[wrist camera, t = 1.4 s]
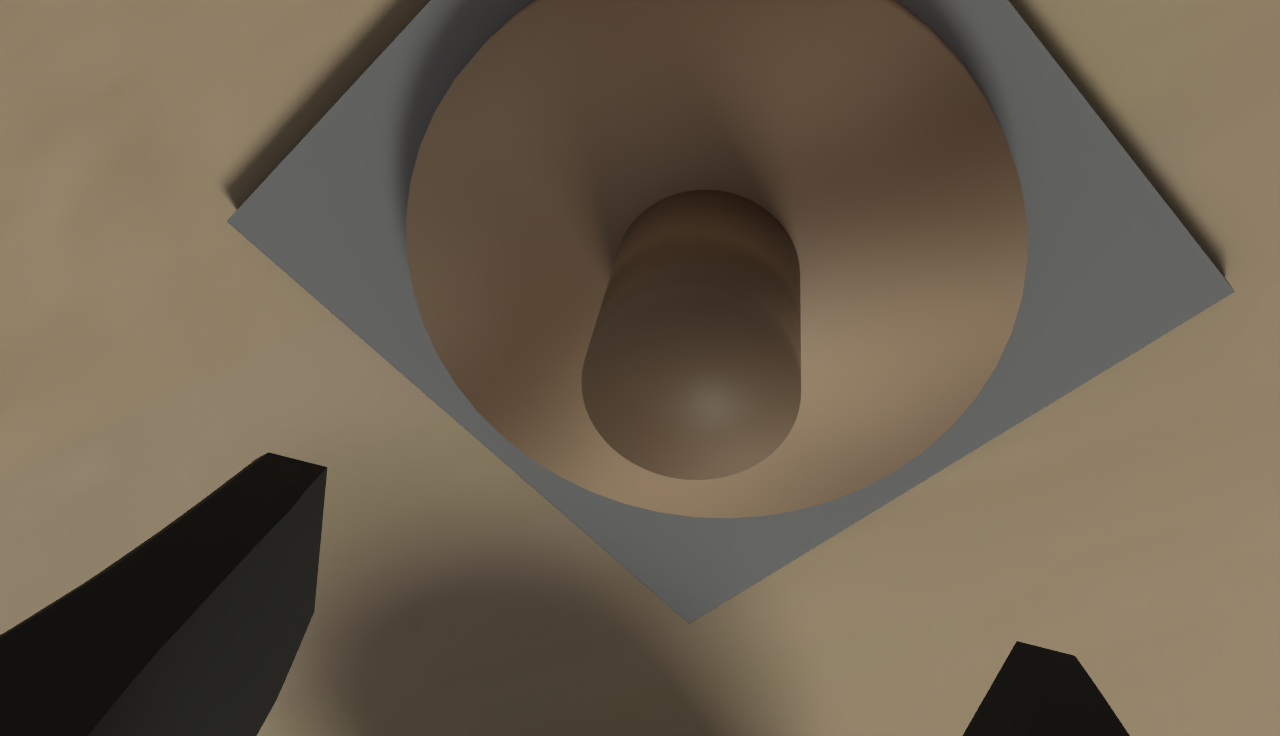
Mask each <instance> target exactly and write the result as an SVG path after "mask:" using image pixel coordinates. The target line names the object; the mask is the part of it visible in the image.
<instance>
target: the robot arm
mask: <svg viewBox="0 0 1280 736" xmlns="http://www.w3.org/2000/svg"><path fill="white" fill-rule="evenodd" d="M326 475H327V467H324V466H320V465H316V464H312V463H308V462H304V461H300V460H296V459H292V458H288V457H284V456H280V455H277V454H273V453H267V454H265V455H263V456H261V457H259V458H257V459H256V460H255V461H253V462H252V463H251V464H249V465H248V466H247V467H245V468H244V469H243V470H241V471H240V472H239V473H238V474H236V475H235V476H234V477H232V478H231V479H230V480H228V481H227V482H226V483H224V484H223V485H222V486H220V487H219V488H218V489H217V490H215V491H214V492H213V493H211V494H210V495H209V496H207V497H206V498H205V499H203V500H202V501H201V502H199V503H198V504H197V505H195V506H194V507H192V508H191V509H190V510H188V511H187V512H186V513H184V514H183V515H182V516H180V517H179V518H177V519H176V520H175V521H173V522H172V523H171V524H169V525H168V526H166V527H165V528H164V529H162V530H161V531H160V532H158V533H157V534H155V535H154V536H152V537H151V538H149V539H148V540H147V541H145V542H144V543H142V544H141V545H139V546H138V547H136V548H135V549H134V550H132V551H131V552H129V553H128V554H126V555H125V556H123V557H122V558H121V559H119V560H118V561H116V562H115V563H113V564H112V565H110V566H109V567H108V568H106V569H105V570H103V571H102V572H100V573H99V574H97V575H96V576H94V577H93V578H91V579H90V580H88V581H87V582H85V583H84V584H82V585H81V586H79V587H77V588H76V589H74V590H73V591H71V592H69V593H68V594H66V595H64V596H63V597H61V598H60V599H58V600H56V601H55V602H53V603H52V604H50V605H48V606H47V607H45V608H44V609H42V610H40V611H39V612H37V613H36V614H34V615H32V616H31V617H29V618H28V619H26V620H24V621H23V622H21V623H20V624H18V625H16V626H15V627H13V628H12V629H10V630H8V631H7V632H5V633H3V634H1V635H0V736H256V735H257V734H258V732H259V730H260V728H261V727H262V725H263V723H264V721H265V719H266V718H267V716H268V714H269V712H270V710H271V709H272V707H273V705H274V703H275V701H276V700H277V697H278V695H279V693H280V690H281V688H282V686H283V684H284V681H285V679H286V677H287V674H288V672H289V670H290V668H291V665H292V663H293V661H294V658H295V656H296V653H297V651H298V649H299V646H300V644H301V641H302V639H303V637H304V634H305V632H306V629H307V627H308V625H309V622H310V620H311V617H312V615H313V613H314V607H315V596H316V585H317V574H318V563H319V552H320V541H321V530H322V519H323V508H324V497H325V486H326ZM963 736H1129V734H1128V733H1127V731H1126V730H1125V728H1124V727H1123V725H1122V724H1121V722H1120V721H1119V719H1118V718H1117V716H1116V715H1115V713H1114V712H1113V710H1112V709H1111V707H1110V706H1109V704H1108V703H1107V701H1106V700H1105V698H1104V697H1103V695H1102V694H1101V692H1100V691H1099V689H1098V688H1097V687H1096V685H1095V684H1094V682H1093V681H1092V679H1091V678H1090V676H1089V675H1088V674H1087V672H1086V671H1085V669H1084V668H1083V667H1082V665H1081V664H1080V662H1079V661H1078V660H1077V658H1076V657H1075V656H1073V655H1069V654H1065V653H1061V652H1058V651H1054V650H1050V649H1046V648H1042V647H1038V646H1034V645H1030V644H1026V643H1022V642H1018V641H1017V642H1016V644H1015V645H1014V647H1013V649H1012V650H1011V652H1010V654H1009V656H1008V657H1007V659H1006V661H1005V663H1004V664H1003V666H1002V668H1001V670H1000V671H999V673H998V675H997V677H996V678H995V680H994V682H993V684H992V685H991V687H990V689H989V691H988V692H987V694H986V696H985V698H984V699H983V701H982V703H981V705H980V706H979V708H978V710H977V712H976V713H975V715H974V717H973V719H972V720H971V722H970V724H969V726H968V727H967V729H966V731H965V732H964V734H963Z"/></svg>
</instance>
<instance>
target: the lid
mask: <svg viewBox="0 0 1280 736" xmlns="http://www.w3.org/2000/svg"><path fill="white" fill-rule="evenodd" d="M406 239H407V259H408V265H409V270H410V276H411V282H412V288H413V292H414V296H415V299H416V302H417V305H418V308H419V312H420V315H421V318H422V321H423V324H424V327H425V329H426V331H427V333H428V335H429V337H430V340H431V342H432V344H433V346H434V348H435V350H436V353H437V355H438V357H439V358H440V360H441V361H442V363H443V365H444V366H445V368H446V369H447V371H448V373H449V374H450V376H451V377H452V379H453V381H454V382H455V384H456V385H457V387H458V388H459V389H460V390H461V392H462V393H463V394H464V395H465V397H466V398H467V399H468V400H469V402H470V403H471V404H472V405H473V407H474V408H475V409H476V410H477V412H478V413H479V414H480V415H481V416H482V417H483V418H484V419H485V420H486V421H487V422H488V423H489V424H490V425H491V426H493V427H494V428H495V429H496V430H497V431H498V432H499V433H500V434H501V435H502V436H503V437H504V438H505V439H506V440H508V441H509V442H510V443H512V444H513V445H514V446H515V447H517V448H518V449H519V450H520V451H522V452H523V453H524V454H526V455H527V456H528V457H529V458H531V459H532V460H534V461H536V462H537V463H539V464H540V465H542V466H544V467H545V468H547V469H548V470H550V471H552V472H553V473H555V474H557V475H558V476H560V477H562V478H564V479H566V480H568V481H570V482H572V483H574V484H576V485H578V486H580V487H582V488H585V489H587V490H589V491H591V492H593V493H596V494H599V495H602V496H604V497H607V498H610V499H613V500H616V501H618V502H621V503H624V504H627V505H632V506H636V507H640V508H644V509H648V510H652V511H656V512H661V513H668V514H675V515H682V516H690V517H705V518H742V517H757V516H768V515H773V514H779V513H785V512H791V511H796V510H801V509H805V508H808V507H812V506H815V505H819V504H822V503H825V502H829V501H832V500H835V499H838V498H840V497H843V496H845V495H847V494H850V493H852V492H855V491H857V490H860V489H862V488H865V487H867V486H869V485H871V484H872V483H874V482H876V481H878V480H880V479H881V478H883V477H885V476H887V475H889V474H891V473H892V472H894V471H896V470H898V469H899V468H901V467H902V466H903V465H905V464H906V463H908V462H909V461H911V460H912V459H913V458H915V457H916V456H918V455H919V454H920V453H922V452H923V451H925V450H926V449H927V448H928V447H929V446H931V445H932V444H933V443H934V442H935V441H936V440H937V439H938V438H939V437H940V436H941V435H943V434H944V433H945V432H946V431H947V430H948V429H949V428H950V427H951V426H952V425H953V424H954V423H955V422H956V421H957V420H958V418H959V417H960V416H961V415H962V414H963V413H964V411H965V410H966V409H967V408H968V407H969V405H970V404H971V403H972V402H973V401H974V400H975V398H976V397H977V396H978V394H979V393H980V391H981V389H982V388H983V386H984V385H985V383H986V382H987V380H988V378H989V377H990V375H991V374H992V372H993V371H994V369H995V368H996V366H997V364H998V361H999V359H1000V357H1001V355H1002V353H1003V351H1004V348H1005V346H1006V344H1007V342H1008V340H1009V338H1010V335H1011V333H1012V330H1013V326H1014V323H1015V320H1016V316H1017V313H1018V310H1019V306H1020V303H1021V299H1022V295H1023V288H1024V281H1025V274H1026V267H1027V218H1026V212H1025V206H1024V199H1023V193H1022V187H1021V182H1020V179H1019V176H1018V173H1017V169H1016V166H1015V163H1014V160H1013V157H1012V154H1011V151H1010V148H1009V145H1008V142H1007V140H1006V138H1005V136H1004V134H1003V131H1002V129H1001V127H1000V125H999V123H998V121H997V119H996V117H995V115H994V113H993V111H992V109H991V107H990V105H989V103H988V101H987V99H986V97H985V95H984V93H983V91H982V89H981V88H980V87H979V85H978V84H977V82H976V81H975V79H974V78H973V77H972V75H971V74H970V72H969V71H968V69H967V68H966V67H965V65H964V64H963V62H962V61H961V59H960V58H959V57H958V56H957V54H956V53H955V52H954V51H953V50H952V49H951V48H950V47H949V46H948V45H947V44H946V43H945V42H944V41H943V40H942V39H941V38H940V37H939V35H938V34H937V33H936V32H935V31H934V30H933V29H932V28H931V27H930V26H929V25H928V24H926V23H925V22H924V21H923V20H921V19H920V18H919V17H918V16H916V15H915V14H914V13H912V12H911V11H910V10H909V9H907V8H906V7H905V6H904V5H902V4H901V3H900V2H899V1H897V0H533V1H531V2H530V3H528V4H527V5H525V6H524V7H522V8H521V9H520V10H519V11H518V12H517V13H516V14H515V15H513V16H512V17H511V18H510V19H509V20H508V21H507V22H506V23H504V24H503V25H502V26H501V27H500V28H499V29H498V30H497V31H495V32H494V33H493V34H492V36H491V37H490V38H489V39H488V40H487V41H486V43H485V44H484V45H483V46H482V47H481V49H480V50H479V51H478V52H477V53H476V55H475V56H474V57H473V58H472V59H471V60H470V62H469V63H468V64H467V65H466V66H465V68H464V69H463V70H462V71H461V72H460V74H459V75H458V76H457V77H456V78H455V80H454V81H453V83H452V85H451V86H450V88H449V90H448V91H447V93H446V94H445V96H444V98H443V99H442V101H441V103H440V104H439V106H438V107H437V109H436V111H435V112H434V115H433V117H432V119H431V122H430V124H429V126H428V129H427V131H426V133H425V136H424V138H423V140H422V143H421V145H420V148H419V151H418V155H417V159H416V163H415V166H414V170H413V174H412V178H411V182H410V188H409V197H408V206H407V215H406Z"/></svg>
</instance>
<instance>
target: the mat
mask: <svg viewBox="0 0 1280 736" xmlns="http://www.w3.org/2000/svg"><path fill="white" fill-rule="evenodd" d="M531 1H533V0H430V1H429V3H428V4H427V5H426V6H425V7H424V8H423V9H422V10H421V11H420V12H419V13H418V14H417V16H416V17H415V18H414V19H413V20H412V21H411V22H410V23H409V24H408V25H407V26H406V27H405V29H404V30H403V31H402V32H401V33H400V34H399V35H398V36H397V37H396V38H395V39H394V41H393V42H392V43H391V44H390V45H389V46H388V47H387V48H386V49H385V50H384V51H383V52H382V54H381V55H380V56H379V57H378V58H377V59H376V60H375V61H374V62H373V63H372V64H371V65H370V67H369V68H368V69H367V70H366V71H365V72H364V73H363V74H362V75H361V76H360V77H359V78H358V80H357V81H356V82H355V83H354V84H353V85H352V86H351V87H350V88H349V89H348V90H347V91H346V93H345V94H344V95H343V96H342V97H341V98H340V99H339V100H338V101H337V102H336V103H335V104H334V106H333V107H332V108H331V109H330V110H329V111H328V112H327V113H326V114H325V115H324V116H323V117H322V119H321V120H320V121H319V122H318V123H317V124H316V125H315V126H314V127H313V128H312V129H311V130H310V132H309V133H308V134H307V135H306V136H305V137H304V138H303V139H302V140H301V141H300V142H299V143H298V145H297V146H296V147H295V148H294V149H293V150H292V151H291V152H290V153H289V154H288V155H287V156H286V158H285V159H284V160H283V161H282V162H281V163H280V164H279V165H278V166H277V167H276V168H275V169H274V171H273V172H272V173H271V174H270V175H269V176H268V177H267V178H266V179H265V180H264V181H263V182H262V184H261V185H260V186H259V187H258V188H257V189H256V190H255V191H254V192H253V193H252V194H251V195H250V197H249V198H248V199H247V200H246V201H245V202H244V203H243V204H242V205H241V206H240V207H239V208H238V210H237V211H236V212H235V213H234V214H233V215H232V216H231V217H230V218H229V219H228V220H227V222H228V223H229V224H230V225H231V226H233V227H234V228H235V229H236V230H237V231H238V232H239V233H241V234H242V235H243V236H244V237H245V238H246V239H248V240H249V241H250V242H251V243H252V244H253V245H254V246H256V247H257V248H258V249H259V250H260V251H261V252H262V253H264V254H265V255H266V256H267V257H268V258H269V259H270V260H272V261H273V262H274V263H275V264H276V265H277V266H279V267H280V268H281V269H282V270H283V271H284V272H285V273H287V274H288V275H289V276H290V277H291V278H292V279H293V280H295V281H296V282H297V283H298V284H299V285H300V286H302V287H303V288H304V289H305V290H306V291H307V292H308V293H310V294H311V295H312V296H313V297H314V298H315V299H316V300H318V301H319V302H320V303H321V304H322V305H323V306H325V307H326V308H327V309H328V310H329V311H330V312H331V313H333V314H334V315H335V316H336V317H337V318H338V319H339V320H341V321H342V322H343V323H344V324H345V325H346V326H348V327H349V328H350V329H351V330H352V331H353V332H354V333H356V334H357V335H358V336H359V337H360V338H361V339H362V340H364V341H365V342H366V343H367V344H368V345H369V346H370V347H372V348H373V349H374V350H375V351H376V352H377V353H379V354H380V355H381V356H382V357H383V358H384V359H385V360H387V361H388V362H389V363H390V364H391V365H392V366H393V367H395V368H396V369H397V370H398V371H399V372H400V373H402V374H403V375H404V376H405V377H406V378H407V379H408V380H410V381H411V382H412V383H413V384H414V385H415V386H416V387H418V388H419V389H420V390H421V391H422V392H423V393H425V394H426V395H427V396H428V397H429V398H430V399H431V400H433V401H434V402H435V403H436V404H437V405H438V406H439V407H441V408H442V409H443V410H444V411H445V412H446V413H447V414H449V415H450V416H451V417H452V418H453V419H454V420H456V421H457V422H458V423H459V424H460V425H461V426H462V427H464V428H465V429H466V430H467V431H468V432H469V433H470V434H472V435H473V436H474V437H475V438H476V439H477V440H479V441H480V442H481V443H482V444H483V445H484V446H485V447H487V448H488V449H489V450H490V451H491V452H492V453H493V454H495V455H496V456H497V457H498V458H499V459H500V460H502V461H503V462H504V463H505V464H506V465H507V466H508V467H510V468H511V469H512V470H513V471H514V472H515V473H516V474H518V475H519V476H520V477H521V478H522V479H523V480H525V481H526V482H527V483H528V484H529V485H530V486H531V487H533V488H534V489H535V490H536V491H537V492H538V493H539V494H541V495H542V496H543V497H544V498H545V499H546V500H547V501H549V502H550V503H551V504H552V505H553V506H554V507H556V508H557V509H558V510H559V511H560V512H561V513H562V514H564V515H565V516H566V517H567V518H568V519H569V520H570V521H572V522H573V523H574V524H575V525H576V526H577V527H579V528H580V529H581V530H582V531H583V532H584V533H585V534H587V535H588V536H589V537H590V538H591V539H592V540H593V541H595V542H596V543H597V544H598V545H599V546H600V547H602V548H603V549H604V550H605V551H606V552H607V553H608V554H610V555H611V556H612V557H613V558H614V559H615V560H616V561H618V562H619V563H620V564H621V565H622V566H623V567H625V568H626V569H627V570H628V571H629V572H630V573H631V574H633V575H634V576H635V577H636V578H637V579H638V580H639V581H641V582H642V583H643V584H644V585H645V586H646V587H647V588H649V589H650V590H651V591H652V592H653V593H654V594H656V595H657V596H658V597H659V598H660V599H661V600H662V601H664V602H665V603H666V604H667V605H668V606H669V607H670V608H672V609H673V610H674V611H675V612H676V613H677V614H679V615H680V616H681V617H682V618H683V619H684V620H685V621H687V622H688V623H689V624H690V623H691V622H693V621H694V620H696V619H698V618H699V617H701V616H703V615H704V614H706V613H708V612H709V611H711V610H713V609H714V608H716V607H717V606H719V605H721V604H722V603H724V602H726V601H727V600H729V599H731V598H732V597H734V596H736V595H737V594H739V593H740V592H742V591H744V590H745V589H747V588H749V587H750V586H752V585H754V584H755V583H757V582H759V581H760V580H762V579H763V578H765V577H767V576H768V575H770V574H772V573H773V572H775V571H777V570H778V569H780V568H782V567H783V566H785V565H786V564H788V563H790V562H791V561H793V560H795V559H796V558H798V557H800V556H801V555H803V554H805V553H806V552H808V551H809V550H811V549H813V548H814V547H816V546H818V545H819V544H821V543H823V542H824V541H826V540H827V539H829V538H831V537H832V536H834V535H836V534H837V533H839V532H841V531H842V530H844V529H846V528H847V527H849V526H850V525H852V524H854V523H855V522H857V521H859V520H860V519H862V518H864V517H865V516H867V515H869V514H870V513H872V512H873V511H875V510H877V509H878V508H880V507H882V506H883V505H885V504H887V503H888V502H890V501H892V500H893V499H895V498H896V497H898V496H900V495H901V494H903V493H905V492H906V491H908V490H910V489H911V488H913V487H915V486H916V485H918V484H919V483H921V482H923V481H924V480H926V479H928V478H929V477H931V476H933V475H934V474H936V473H938V472H939V471H941V470H942V469H944V468H946V467H947V466H949V465H951V464H952V463H954V462H956V461H957V460H959V459H961V458H962V457H964V456H965V455H967V454H969V453H970V452H972V451H974V450H975V449H977V448H979V447H980V446H982V445H983V444H985V443H987V442H988V441H990V440H992V439H993V438H995V437H997V436H998V435H1000V434H1002V433H1003V432H1005V431H1006V430H1008V429H1010V428H1011V427H1013V426H1015V425H1016V424H1018V423H1020V422H1021V421H1023V420H1025V419H1026V418H1028V417H1029V416H1031V415H1033V414H1034V413H1036V412H1038V411H1039V410H1041V409H1043V408H1044V407H1046V406H1048V405H1049V404H1051V403H1052V402H1054V401H1056V400H1057V399H1059V398H1061V397H1062V396H1064V395H1066V394H1067V393H1069V392H1071V391H1072V390H1074V389H1075V388H1077V387H1079V386H1080V385H1082V384H1084V383H1085V382H1087V381H1089V380H1090V379H1092V378H1094V377H1095V376H1097V375H1098V374H1100V373H1102V372H1103V371H1105V370H1107V369H1108V368H1110V367H1112V366H1113V365H1115V364H1117V363H1118V362H1120V361H1121V360H1123V359H1125V358H1126V357H1128V356H1130V355H1131V354H1133V353H1135V352H1136V351H1138V350H1139V349H1141V348H1143V347H1144V346H1146V345H1148V344H1149V343H1151V342H1153V341H1154V340H1156V339H1158V338H1159V337H1161V336H1162V335H1164V334H1166V333H1167V332H1169V331H1171V330H1172V329H1174V328H1176V327H1177V326H1179V325H1181V324H1182V323H1184V322H1185V321H1187V320H1189V319H1190V318H1192V317H1194V316H1195V315H1197V314H1199V313H1200V312H1202V311H1204V310H1205V309H1207V308H1208V307H1210V306H1212V305H1213V304H1215V303H1217V302H1218V301H1220V300H1222V299H1223V298H1225V297H1227V296H1228V295H1230V294H1231V293H1233V292H1235V291H1234V290H1233V288H1232V287H1231V285H1230V284H1229V283H1228V281H1227V280H1226V278H1225V277H1224V276H1223V275H1222V273H1221V272H1220V271H1219V269H1218V268H1217V267H1216V266H1215V264H1214V263H1213V262H1212V260H1211V259H1210V258H1209V257H1208V255H1207V254H1206V253H1205V251H1204V250H1203V249H1202V248H1201V246H1200V245H1199V244H1198V242H1197V241H1196V240H1195V239H1194V237H1193V236H1192V235H1191V233H1190V232H1189V231H1188V230H1187V228H1186V227H1185V226H1184V224H1183V223H1182V222H1181V221H1180V219H1179V218H1178V217H1177V215H1176V214H1175V213H1174V212H1173V210H1172V209H1171V208H1170V206H1169V205H1168V204H1167V203H1166V201H1165V200H1164V199H1163V197H1162V196H1161V195H1160V194H1159V192H1158V191H1157V190H1156V188H1155V187H1154V186H1153V185H1152V183H1151V182H1150V181H1149V179H1148V178H1147V177H1146V176H1145V174H1144V173H1143V172H1142V171H1141V169H1140V168H1139V167H1138V165H1137V164H1136V163H1135V162H1134V160H1133V159H1132V158H1131V156H1130V155H1129V154H1128V153H1127V151H1126V150H1125V149H1124V147H1123V146H1122V145H1121V144H1120V142H1119V141H1118V140H1117V138H1116V137H1115V136H1114V135H1113V133H1112V132H1111V131H1110V129H1109V128H1108V127H1107V126H1106V124H1105V123H1104V122H1103V120H1102V119H1101V118H1100V117H1099V115H1098V114H1097V113H1096V111H1095V110H1094V109H1093V108H1092V106H1091V105H1090V104H1089V102H1088V101H1087V100H1086V99H1085V97H1084V96H1083V95H1082V93H1081V92H1080V91H1079V90H1078V88H1077V87H1076V86H1075V84H1074V83H1073V82H1072V81H1071V79H1070V78H1069V77H1068V75H1067V74H1066V73H1065V72H1064V70H1063V69H1062V68H1061V66H1060V65H1059V64H1058V63H1057V61H1056V60H1055V59H1054V57H1053V56H1052V55H1051V54H1050V52H1049V51H1048V50H1047V48H1046V47H1045V46H1044V45H1043V43H1042V42H1041V41H1040V39H1039V38H1038V37H1037V36H1036V34H1035V33H1034V32H1033V30H1032V29H1031V28H1030V27H1029V25H1028V24H1027V23H1026V21H1025V20H1024V19H1023V18H1022V16H1021V15H1020V14H1019V12H1018V11H1017V10H1016V9H1015V7H1014V6H1013V5H1012V3H1011V2H1010V1H1009V0H897V1H899V2H900V3H901V4H902V5H904V6H905V7H906V8H907V9H909V10H910V11H911V12H912V13H914V14H915V15H916V16H918V17H919V18H920V19H921V20H923V21H924V22H925V23H926V24H928V25H929V26H930V27H931V28H932V29H933V30H934V31H935V32H936V33H937V34H938V35H939V37H940V38H941V39H942V40H943V41H944V42H945V43H946V44H947V45H948V46H949V47H950V48H951V49H952V50H953V51H954V52H955V53H956V54H957V56H958V57H959V58H960V59H961V61H962V62H963V64H964V65H965V67H966V68H967V69H968V71H969V72H970V74H971V75H972V77H973V78H974V79H975V81H976V82H977V84H978V85H979V87H980V88H981V89H982V91H983V93H984V95H985V97H986V99H987V101H988V103H989V105H990V107H991V109H992V111H993V113H994V115H995V117H996V119H997V121H998V123H999V125H1000V127H1001V129H1002V131H1003V134H1004V136H1005V138H1006V140H1007V142H1008V145H1009V148H1010V151H1011V154H1012V157H1013V160H1014V163H1015V166H1016V169H1017V173H1018V176H1019V179H1020V182H1021V187H1022V193H1023V199H1024V206H1025V212H1026V218H1027V267H1026V274H1025V281H1024V288H1023V295H1022V299H1021V303H1020V306H1019V310H1018V313H1017V316H1016V320H1015V323H1014V326H1013V330H1012V333H1011V335H1010V338H1009V340H1008V342H1007V344H1006V346H1005V348H1004V351H1003V353H1002V355H1001V357H1000V359H999V361H998V364H997V366H996V368H995V369H994V371H993V372H992V374H991V375H990V377H989V378H988V380H987V382H986V383H985V385H984V386H983V388H982V389H981V391H980V393H979V394H978V396H977V397H976V398H975V400H974V401H973V402H972V403H971V404H970V405H969V407H968V408H967V409H966V410H965V411H964V413H963V414H962V415H961V416H960V417H959V418H958V420H957V421H956V422H955V423H954V424H953V425H952V426H951V427H950V428H949V429H948V430H947V431H946V432H945V433H944V434H943V435H941V436H940V437H939V438H938V439H937V440H936V441H935V442H934V443H933V444H932V445H931V446H929V447H928V448H927V449H926V450H925V451H923V452H922V453H920V454H919V455H918V456H916V457H915V458H913V459H912V460H911V461H909V462H908V463H906V464H905V465H903V466H902V467H901V468H899V469H898V470H896V471H894V472H892V473H891V474H889V475H887V476H885V477H883V478H881V479H880V480H878V481H876V482H874V483H872V484H871V485H869V486H867V487H865V488H862V489H860V490H857V491H855V492H852V493H850V494H847V495H845V496H843V497H840V498H838V499H835V500H832V501H829V502H825V503H822V504H819V505H815V506H812V507H808V508H805V509H801V510H796V511H791V512H785V513H779V514H773V515H768V516H757V517H742V518H705V517H690V516H682V515H675V514H668V513H661V512H656V511H652V510H648V509H644V508H640V507H636V506H632V505H627V504H624V503H621V502H618V501H616V500H613V499H610V498H607V497H604V496H602V495H599V494H596V493H593V492H591V491H589V490H587V489H585V488H582V487H580V486H578V485H576V484H574V483H572V482H570V481H568V480H566V479H564V478H562V477H560V476H558V475H557V474H555V473H553V472H552V471H550V470H548V469H547V468H545V467H544V466H542V465H540V464H539V463H537V462H536V461H534V460H532V459H531V458H529V457H528V456H527V455H526V454H524V453H523V452H522V451H520V450H519V449H518V448H517V447H515V446H514V445H513V444H512V443H510V442H509V441H508V440H506V439H505V438H504V437H503V436H502V435H501V434H500V433H499V432H498V431H497V430H496V429H495V428H494V427H493V426H491V425H490V424H489V423H488V422H487V421H486V420H485V419H484V418H483V417H482V416H481V415H480V414H479V413H478V412H477V410H476V409H475V408H474V407H473V405H472V404H471V403H470V402H469V400H468V399H467V398H466V397H465V395H464V394H463V393H462V392H461V390H460V389H459V388H458V387H457V385H456V384H455V382H454V381H453V379H452V377H451V376H450V374H449V373H448V371H447V369H446V368H445V366H444V365H443V363H442V361H441V360H440V358H439V357H438V355H437V353H436V350H435V348H434V346H433V344H432V342H431V340H430V337H429V335H428V333H427V331H426V329H425V327H424V324H423V321H422V318H421V315H420V312H419V308H418V305H417V302H416V299H415V296H414V292H413V288H412V282H411V276H410V270H409V265H408V259H407V239H406V215H407V206H408V197H409V188H410V182H411V178H412V174H413V170H414V166H415V163H416V159H417V155H418V151H419V148H420V145H421V143H422V140H423V138H424V136H425V133H426V131H427V129H428V126H429V124H430V122H431V119H432V117H433V115H434V112H435V111H436V109H437V107H438V106H439V104H440V103H441V101H442V99H443V98H444V96H445V94H446V93H447V91H448V90H449V88H450V86H451V85H452V83H453V81H454V80H455V78H456V77H457V76H458V75H459V74H460V72H461V71H462V70H463V69H464V68H465V66H466V65H467V64H468V63H469V62H470V60H471V59H472V58H473V57H474V56H475V55H476V53H477V52H478V51H479V50H480V49H481V47H482V46H483V45H484V44H485V43H486V41H487V40H488V39H489V38H490V37H491V36H492V34H493V33H494V32H495V31H497V30H498V29H499V28H500V27H501V26H502V25H503V24H504V23H506V22H507V21H508V20H509V19H510V18H511V17H512V16H513V15H515V14H516V13H517V12H518V11H519V10H520V9H521V8H522V7H524V6H525V5H527V4H528V3H530V2H531Z"/></svg>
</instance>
